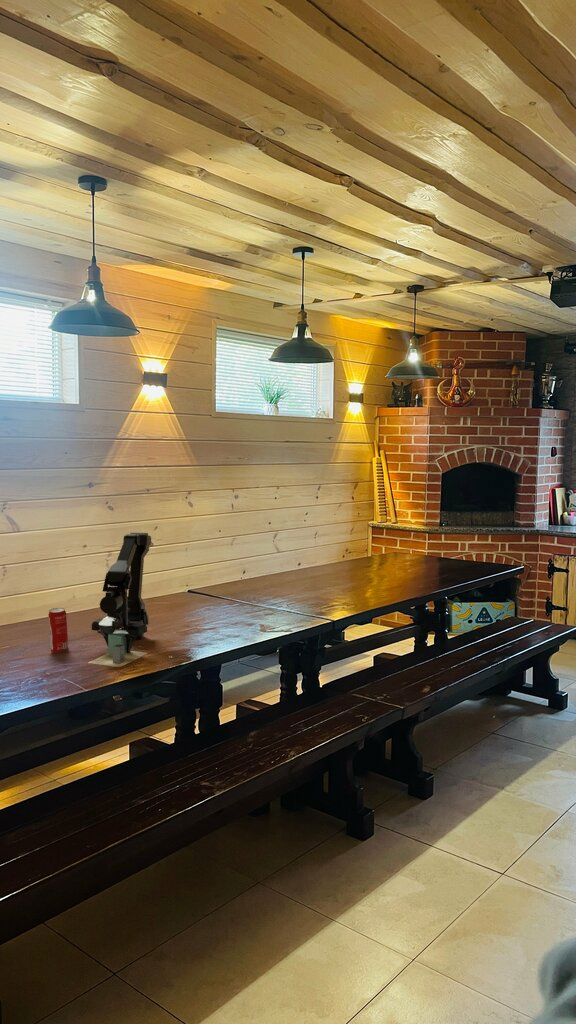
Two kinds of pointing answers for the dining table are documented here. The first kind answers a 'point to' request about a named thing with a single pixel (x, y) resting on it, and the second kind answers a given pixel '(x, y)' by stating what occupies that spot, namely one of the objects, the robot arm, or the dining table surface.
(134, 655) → the board
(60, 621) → the beverage can
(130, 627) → the robot arm
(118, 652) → the post
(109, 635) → the teal rectangular block
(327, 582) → the dining table surface
